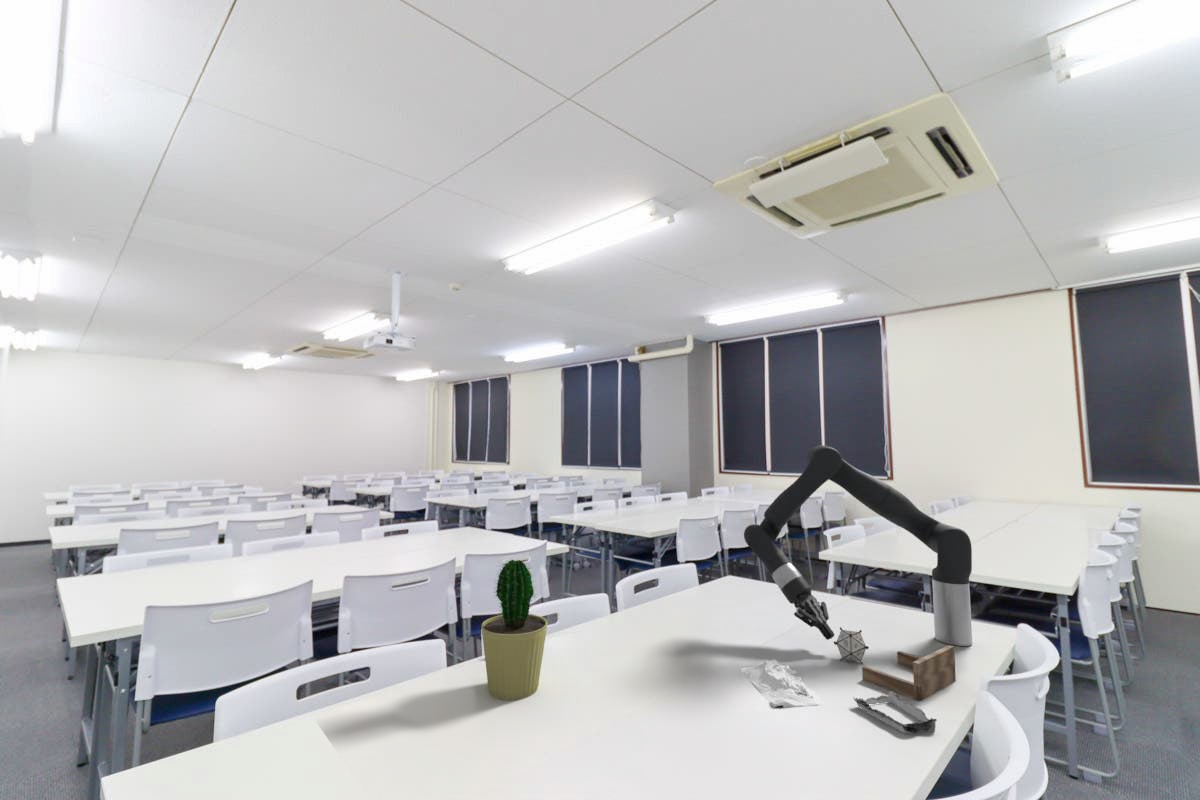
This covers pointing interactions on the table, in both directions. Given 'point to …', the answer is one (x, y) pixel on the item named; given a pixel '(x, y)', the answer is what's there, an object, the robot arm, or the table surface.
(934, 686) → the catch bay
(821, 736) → the table surface
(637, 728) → the table surface
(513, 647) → the potted cactus
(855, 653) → the game die
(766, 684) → the terrain model
